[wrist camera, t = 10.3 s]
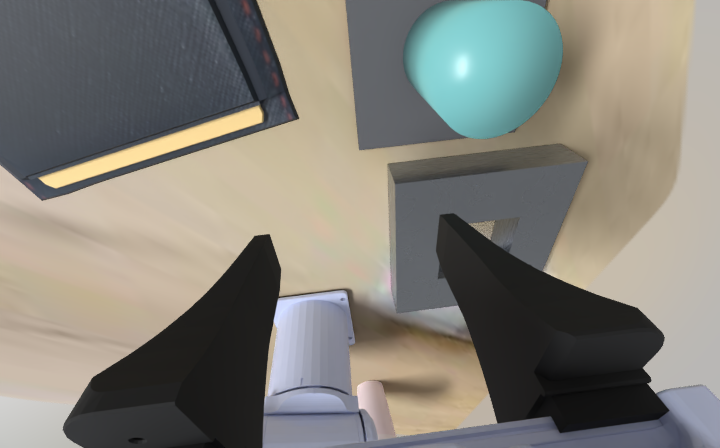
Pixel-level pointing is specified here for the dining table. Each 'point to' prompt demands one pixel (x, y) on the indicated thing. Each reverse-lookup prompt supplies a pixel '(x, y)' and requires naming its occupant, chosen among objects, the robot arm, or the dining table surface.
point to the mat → (390, 76)
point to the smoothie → (376, 407)
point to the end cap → (484, 62)
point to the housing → (475, 211)
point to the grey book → (129, 85)
